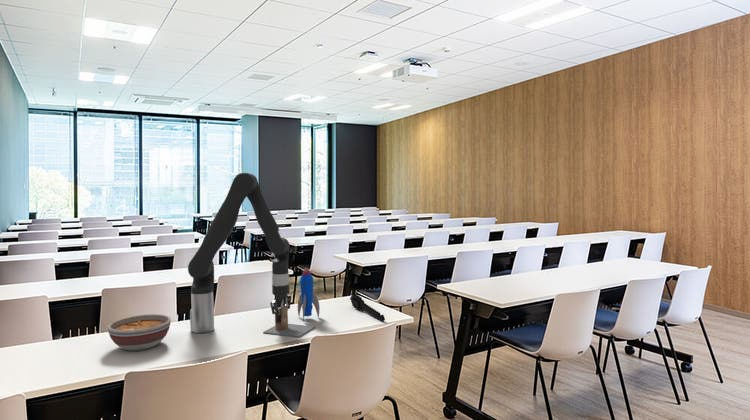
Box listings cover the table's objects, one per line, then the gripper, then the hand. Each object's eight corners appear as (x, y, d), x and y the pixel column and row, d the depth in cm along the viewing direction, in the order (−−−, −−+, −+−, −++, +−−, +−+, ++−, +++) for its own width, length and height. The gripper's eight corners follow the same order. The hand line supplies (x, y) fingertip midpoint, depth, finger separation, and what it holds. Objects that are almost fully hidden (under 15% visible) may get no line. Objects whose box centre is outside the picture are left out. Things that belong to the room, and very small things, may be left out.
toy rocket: (319, 317, 232) (318, 266, 231) (315, 322, 223) (314, 269, 221) (298, 316, 233) (296, 265, 232) (292, 322, 224) (291, 269, 222)
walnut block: (275, 329, 212) (274, 306, 211) (280, 326, 216) (279, 304, 215) (283, 330, 210) (282, 307, 210) (288, 327, 214) (287, 305, 213)
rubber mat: (263, 333, 208) (263, 331, 208) (280, 324, 221) (280, 322, 221) (299, 337, 202) (299, 336, 202) (315, 327, 215) (315, 326, 215)
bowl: (130, 360, 178) (129, 334, 178) (96, 350, 190) (95, 325, 190) (183, 342, 198) (182, 318, 197) (149, 333, 210) (148, 311, 209)
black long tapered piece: (387, 322, 223) (387, 306, 222) (380, 324, 221) (380, 307, 221) (354, 305, 254) (354, 291, 253) (347, 306, 252) (347, 292, 252)
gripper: (282, 279, 220) (282, 316, 221) (264, 286, 207) (265, 325, 208) (296, 280, 217) (297, 317, 218) (279, 287, 204) (280, 326, 205)
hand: (281, 321), depth 213 cm, fingers open, 4 cm apart
